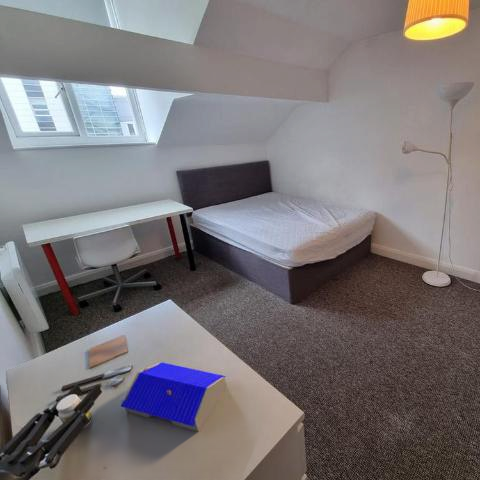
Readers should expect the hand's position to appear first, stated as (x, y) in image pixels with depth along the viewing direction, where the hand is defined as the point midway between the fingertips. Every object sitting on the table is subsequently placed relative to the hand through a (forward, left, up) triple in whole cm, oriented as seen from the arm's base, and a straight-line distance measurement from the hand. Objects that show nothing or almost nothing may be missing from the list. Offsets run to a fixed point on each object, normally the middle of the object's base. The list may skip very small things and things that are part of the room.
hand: (88, 388), depth 70 cm
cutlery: (-8, 0, -6) cm, 10 cm away
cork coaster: (-21, +4, -6) cm, 22 cm away
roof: (+13, +18, -6) cm, 23 cm away
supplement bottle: (+4, -3, -6) cm, 8 cm away
